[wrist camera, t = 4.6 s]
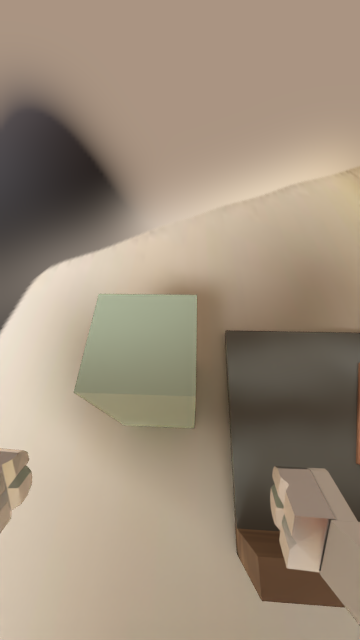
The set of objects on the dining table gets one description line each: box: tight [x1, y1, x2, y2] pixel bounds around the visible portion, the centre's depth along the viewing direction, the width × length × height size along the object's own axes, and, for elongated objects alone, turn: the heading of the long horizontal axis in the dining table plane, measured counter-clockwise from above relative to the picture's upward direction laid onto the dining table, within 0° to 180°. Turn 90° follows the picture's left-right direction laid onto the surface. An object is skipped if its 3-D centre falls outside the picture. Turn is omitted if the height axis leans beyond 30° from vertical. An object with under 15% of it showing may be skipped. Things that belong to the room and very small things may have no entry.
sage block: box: [74, 294, 197, 428], centre depth 15 cm, size 5×5×9 cm
